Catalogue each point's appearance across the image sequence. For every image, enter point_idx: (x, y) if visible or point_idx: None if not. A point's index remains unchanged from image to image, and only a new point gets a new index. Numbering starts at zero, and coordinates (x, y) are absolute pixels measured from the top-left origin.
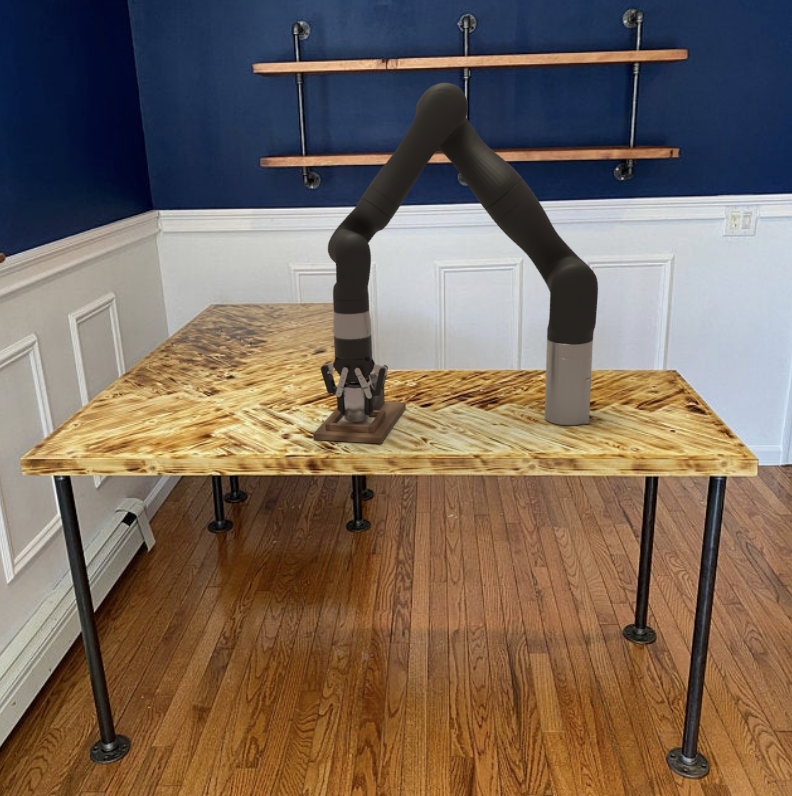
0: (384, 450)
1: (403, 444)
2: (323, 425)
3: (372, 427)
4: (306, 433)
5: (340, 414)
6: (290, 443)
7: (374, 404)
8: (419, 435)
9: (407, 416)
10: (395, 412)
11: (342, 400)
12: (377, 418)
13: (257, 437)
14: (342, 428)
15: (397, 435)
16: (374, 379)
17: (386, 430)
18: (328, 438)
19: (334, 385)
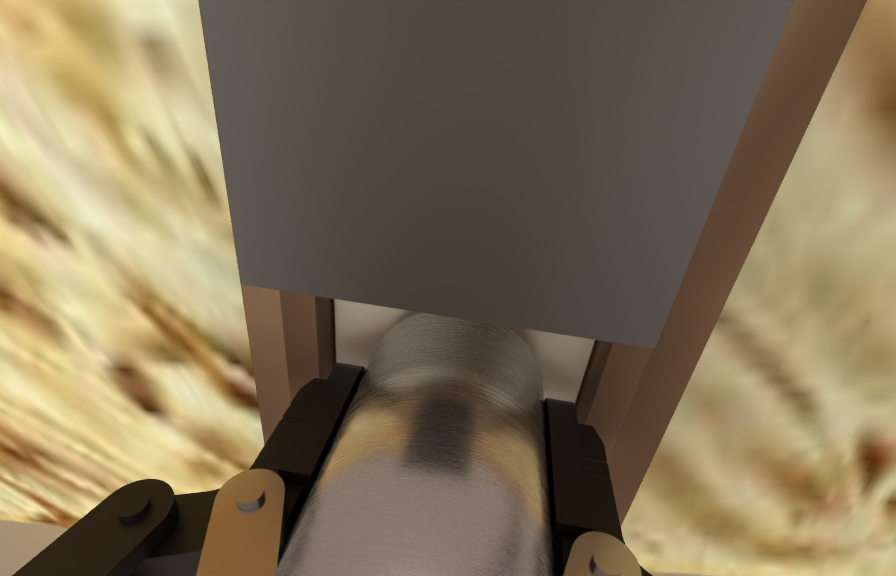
0: (627, 542)
1: (730, 501)
2: (268, 371)
3: None
4: (209, 361)
5: (319, 297)
6: (203, 457)
7: (607, 478)
8: (860, 410)
9: (891, 20)
10: (783, 105)
11: None
12: (610, 409)
13: (30, 395)
14: None
15: (715, 404)
16: (672, 92)
17: (657, 444)
18: None
19: (137, 560)
